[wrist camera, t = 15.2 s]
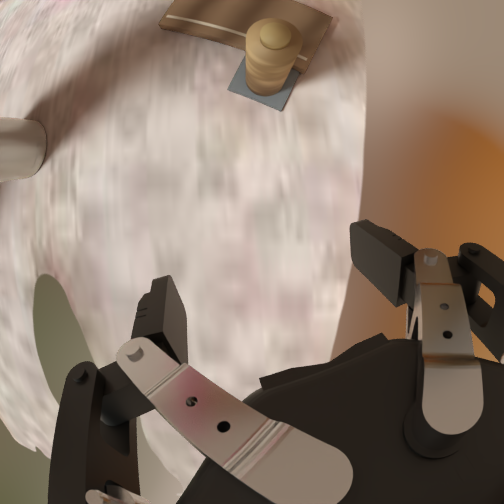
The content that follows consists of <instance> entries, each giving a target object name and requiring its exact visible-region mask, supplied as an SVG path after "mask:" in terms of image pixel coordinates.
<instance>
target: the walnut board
mask: <svg viewBox="0 0 504 504" xmlns="http://www.w3.org/2000/svg"><path fill="white" fill-rule="evenodd" d="M266 18H278V19H282V20H285V21H288V22H289V23H291V24H293V25H294V26H295V27H296V28H297V29H298V30H299V32H300V33H301V36H302V39H303V45H302V48H301V50H300V52H299V54H298V56H297V58H296V60H295V62H294V64H293V66H292V69H294V70H297V71H299V72H300V73H301V74H304V73H305V71H306V70H307V68H308V66H309V64H310V62H311V60H312V58H313V56H314V54H315V52H316V50H317V48H318V46H319V44H320V42H321V40H322V38H323V36H324V34H325V32H326V30H327V28H328V26H329V24H330V22H331V20H332V18H333V17H331V16H328V15H326V14H324V13H322V12H320V11H318V10H315V9H313V8H311V7H308V6H306V5H303V4H301V3H298V2H296V1H293V0H174V2H173V3H172V4H171V6H170V7H169V9H168V10H167V12H166V13H165V14H164V16H163V17H162V19H161V21H160V22H159V26H160V27H161V29H165V30H170V31H175V32H180V33H184V34H189V35H193V36H197V37H201V38H205V39H208V40H212V41H215V42H219V43H222V44H226V45H229V46H232V47H235V48H238V49H241V50H244V51H246V34H247V31H248V29H249V28H250V27H251V26H252V25H253V24H254V23H255V22H257V21H259V20H262V19H266Z"/></svg>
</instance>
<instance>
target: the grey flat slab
mask: <svg viewBox="0 0 504 504" xmlns="http://www.w3.org/2000/svg"><path fill="white" fill-rule="evenodd" d="M299 73H300V72H299V71H297V70H294V69H292V68H291V70H290V72H289V74H288V76H287V78H286V80H285V82H284V84H283V86H282V88H281V90H280V91H279V92H278V93H276V94H274V95H272V96H266V97H264V96H259V95H256V94H254V93H253V92H251V91H250V90H249V88H248V87H247V85H246V55H245V57H244V59H243V61H242V62H241V64H240V66H239V68H238V70H237V72H236V74H235V76H234V77H233V79H232V81H231V83H230V85H229V87H228V89H227V90H229V91H232V92H234V93H237V94H240V95H242V96H245V97H248V98H250V99H253V100H255V101H257V102H260V103H262V104H265V105H267V106H269V107H272V108H274V109H276V110H279V111H282V108H283V106H284V104H285V102H286V100H287V98H288V96H289V94H290V92H291V90H292V88H293V86H294V84H295V82H296V80H297V78H298V76H299Z"/></svg>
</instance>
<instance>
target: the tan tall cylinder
mask: <svg viewBox="0 0 504 504" xmlns="http://www.w3.org/2000/svg"><path fill="white" fill-rule="evenodd" d="M302 45H303V39H302V36H301V33H300V32H299V30H298V29H297V28H296V27H295V26H294V25H293V24H291V23H289V22H288V21H285V20H282V19H278V18H266V19H262V20H259V21H257V22H255V23H254V24H253V25H252V26H251V27H250V28H249V29H248V31H247V34H246V85H247V87H248V88H249V90H250V91H251V92H253V93H254V94H256V95H259V96H264V97H266V96H272V95H274V94H276V93H278V92H279V91H280V90H281V88H282V86H283V84H284V82H285V80H286V78H287V76H288V74H289V72H290V70H291V68H292V66H293V64H294V62H295V60H296V58H297V56H298V54H299V52H300V50H301V48H302Z"/></svg>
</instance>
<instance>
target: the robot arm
mask: <svg viewBox="0 0 504 504" xmlns="http://www.w3.org/2000/svg"><path fill="white" fill-rule="evenodd" d="M45 152H46V134H45V130H44V128H43V126H42V125H41V124H40V123H39V122H38V121H34V120H26V119H17V118H5V117H0V182H6V181H12V180H18V179H24V178H29V177H31V176H33V175H34V174H35V173H36V172H37V171H38V169H39V168H40V166H41V164H42V162H43V159H44V156H45ZM350 246H351V258H352V261H353V264H354V266H355V267H356V268H357V269H358V270H359V271H360V272H361V273H362V274H363V275H364V276H365V277H366V278H367V279H369V281H370V282H371V283H372V284H374V286H375V287H376V288H377V289H378V290H380V292H381V293H382V294H383V295H384V296H385V297H386V298H387V299H388V300H389V301H390V302H391V303H392V304H393V305H394V306H395V307H398V306H400V305H402V304H405V303H407V304H408V307H407V319H406V339H392V340H388V339H387V338H386V337H385V336H384V335H383V333H380V334H378V335H376V336H373V337H371V338H369V339H366V340H364V341H362V342H359V343H357V344H355V345H354V346H352V347H351V348H349V349H348V350H346V351H345V352H344V353H342V354H341V355H339V356H338V357H336V358H335V359H333V360H332V361H330V362H328V363H324V364H318V365H311V366H304V367H296V368H290V369H287V370H284V371H281V372H278V373H275V374H272V375H268V376H265V377H262V378H259V379H260V383H261V386H262V388H260V389H258V390H256V391H255V392H253V393H252V394H250V395H249V396H248V397H246V398H245V399H244V400H243V401H240V400H238V399H237V398H235V397H234V396H232V395H231V394H229V393H228V392H226V391H225V390H223V389H222V388H220V387H219V386H217V385H216V384H215V383H213V382H212V381H210V380H209V379H207V378H206V377H205V376H203V375H202V374H200V373H199V372H198V371H196V370H195V369H194V368H192V367H191V366H190V365H188V348H187V317H186V312H185V308H184V305H183V303H182V300H181V298H180V296H179V293H178V291H177V289H176V286H175V284H174V282H173V279H172V277H171V276H170V275H167V276H164V277H160V278H157V279H153V281H152V286H151V291H150V293H146V294H144V296H143V297H142V298H141V300H140V301H139V303H138V307H137V312H136V316H135V318H136V319H135V321H134V326H133V330H132V335H131V340H129V341H128V342H126V343H125V344H123V345H122V346H121V348H120V349H119V350H118V352H117V355H116V361H115V362H113V363H111V364H109V365H107V366H105V367H103V368H100V369H98V368H97V367H96V365H95V364H94V363H92V362H88V361H87V362H82V363H79V364H78V365H76V366H75V367H73V368H72V369H71V370H70V372H69V373H68V376H67V378H66V381H65V385H64V389H63V394H62V398H61V402H60V407H59V412H58V417H57V422H56V428H55V433H54V440H53V447H52V454H51V464H50V474H49V487H48V504H151V503H150V502H149V501H148V500H147V499H145V498H143V497H141V495H140V487H139V486H140V485H139V473H138V458H137V433H136V432H137V428H136V417H138V416H140V415H142V414H145V413H147V412H149V411H151V410H153V409H156V410H157V412H158V413H159V414H160V415H161V416H162V417H163V418H164V419H165V420H166V421H167V422H168V423H169V424H170V425H171V426H172V427H173V428H174V429H175V430H176V431H177V432H178V433H180V434H181V435H182V436H183V437H184V438H185V439H186V440H187V441H188V442H189V443H190V444H191V445H192V446H193V447H195V448H196V449H197V450H198V451H199V452H200V453H201V454H203V455H204V456H205V457H206V458H205V460H204V461H203V463H202V465H201V466H200V468H199V469H198V471H197V473H196V474H195V476H194V477H193V479H192V480H191V482H190V483H189V485H188V486H187V488H186V489H185V491H184V493H183V494H182V496H181V497H180V498H179V500H178V501H177V503H176V504H504V261H503V260H501V259H500V258H498V257H497V256H496V255H494V254H493V253H491V252H490V251H489V250H487V249H486V248H484V247H483V246H481V245H479V244H476V243H464V244H462V245H461V246H460V249H459V254H458V256H453V257H446V255H445V254H444V253H442V252H441V251H438V250H436V249H431V248H425V249H420V250H418V249H417V248H415V247H414V246H413V245H411V244H410V243H408V242H406V241H405V240H404V239H402V238H401V237H399V236H397V235H396V234H395V233H393V232H392V231H390V230H388V229H385V228H382V227H379V226H377V225H375V224H374V223H372V222H370V221H369V220H367V219H365V220H361V221H358V222H354V223H351V225H350ZM481 283H483V284H484V285H485V286H486V287H488V288H489V289H490V290H491V291H492V292H493V293H494V296H495V305H494V308H492V307H491V306H490V305H489V304H487V303H486V302H485V301H484V300H483V299H482V298H481V297H480V296H479V295H478V293H479V290H480V286H481ZM470 329H471V330H470ZM471 331H472V332H473V333H474V334H475V335H476V336H477V337H478V338H479V339H480V340H481V342H482V343H483V344H484V345H485V346H486V347H487V348H488V349H489V351H490V352H491V353H492V354H493V355H494V356H495V358H496V359H497V360H498V361H499V362H500V363H498V362H494V361H489V360H486V359H482V358H478V357H475V356H474V350H473V343H472V336H471Z"/></svg>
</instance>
